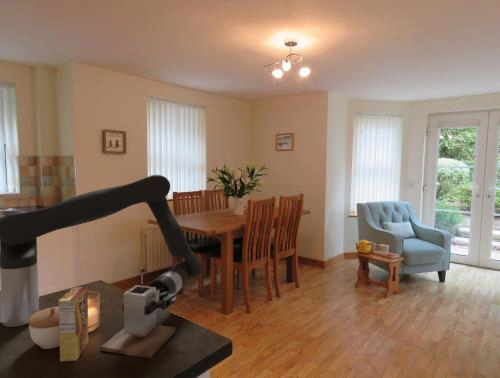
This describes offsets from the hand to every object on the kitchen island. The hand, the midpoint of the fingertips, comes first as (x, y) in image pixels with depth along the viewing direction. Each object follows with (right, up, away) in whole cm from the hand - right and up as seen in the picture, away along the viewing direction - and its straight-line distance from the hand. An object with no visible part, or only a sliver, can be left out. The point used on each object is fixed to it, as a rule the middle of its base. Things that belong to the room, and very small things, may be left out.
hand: (135, 310), depth 88 cm
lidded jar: (-22, -9, +1) cm, 24 cm away
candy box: (-14, -10, -3) cm, 18 cm away
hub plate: (0, -9, +3) cm, 10 cm away
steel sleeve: (0, -6, +3) cm, 7 cm away
